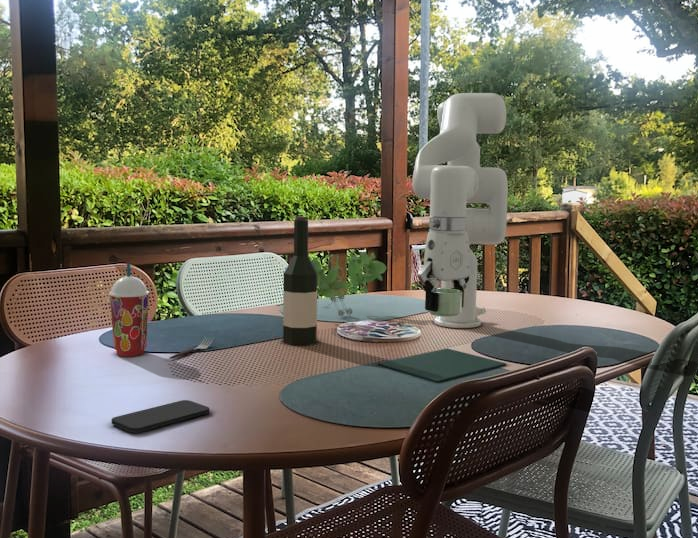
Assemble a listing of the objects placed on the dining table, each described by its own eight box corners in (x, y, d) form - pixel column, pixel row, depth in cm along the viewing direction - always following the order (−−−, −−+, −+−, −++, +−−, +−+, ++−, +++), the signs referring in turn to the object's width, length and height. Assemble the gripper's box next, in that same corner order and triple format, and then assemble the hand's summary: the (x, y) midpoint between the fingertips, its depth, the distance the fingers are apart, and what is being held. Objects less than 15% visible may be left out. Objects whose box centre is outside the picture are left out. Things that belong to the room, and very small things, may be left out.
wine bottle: (323, 340, 183) (325, 216, 179) (306, 347, 175) (308, 218, 171) (293, 336, 186) (294, 215, 182) (276, 342, 179) (276, 216, 175)
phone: (212, 408, 127) (134, 429, 115) (212, 413, 127) (134, 434, 115) (186, 399, 131) (108, 418, 120) (186, 403, 132) (108, 423, 120)
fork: (164, 360, 161) (164, 350, 161) (205, 344, 176) (205, 336, 176) (174, 361, 160) (174, 352, 160) (215, 345, 175) (215, 337, 175)
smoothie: (157, 351, 168) (156, 262, 166) (135, 359, 161) (133, 267, 158) (126, 347, 171) (124, 260, 169) (102, 356, 163) (99, 264, 161)
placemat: (447, 350, 175) (447, 348, 175) (506, 365, 163) (506, 363, 163) (378, 364, 161) (378, 363, 161) (437, 382, 148) (437, 380, 148)
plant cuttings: (280, 347, 203) (333, 306, 191) (252, 293, 207) (302, 250, 195) (357, 327, 231) (407, 290, 219) (331, 280, 235) (378, 241, 223)
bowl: (442, 309, 165) (443, 287, 164) (468, 314, 160) (469, 291, 159) (420, 313, 160) (420, 290, 160) (445, 318, 155) (446, 294, 154)
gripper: (432, 228, 149) (429, 316, 151) (487, 225, 161) (484, 307, 163) (405, 225, 155) (402, 310, 157) (461, 223, 166) (457, 302, 168)
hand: (444, 308), depth 160 cm, fingers closed on bowl, 7 cm apart
